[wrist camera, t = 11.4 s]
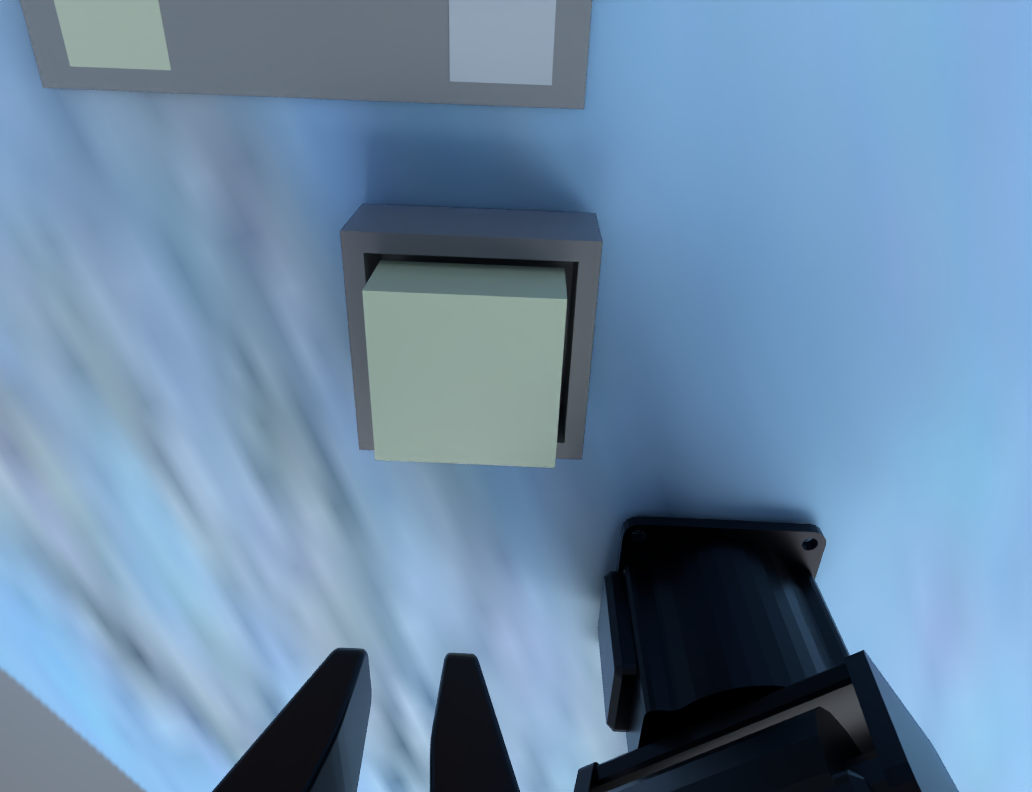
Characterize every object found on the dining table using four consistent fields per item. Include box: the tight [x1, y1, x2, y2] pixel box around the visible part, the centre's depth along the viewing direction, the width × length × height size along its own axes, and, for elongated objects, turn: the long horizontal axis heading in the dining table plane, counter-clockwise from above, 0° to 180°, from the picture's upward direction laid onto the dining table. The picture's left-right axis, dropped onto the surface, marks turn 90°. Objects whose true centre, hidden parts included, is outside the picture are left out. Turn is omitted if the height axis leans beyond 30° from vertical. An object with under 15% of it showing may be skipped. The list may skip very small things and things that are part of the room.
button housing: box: [340, 204, 602, 459], centre depth 19 cm, size 6×6×2 cm
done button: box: [362, 260, 567, 468], centre depth 17 cm, size 4×4×2 cm
